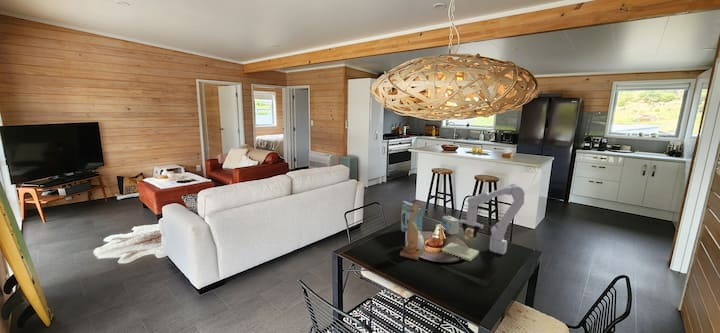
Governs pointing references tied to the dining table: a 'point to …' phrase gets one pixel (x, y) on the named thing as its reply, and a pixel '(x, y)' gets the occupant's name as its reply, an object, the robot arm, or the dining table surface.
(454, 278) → the dining table surface
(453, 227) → the light bulb box
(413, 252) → the bird sculpture
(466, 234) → the maple block
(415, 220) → the gum box
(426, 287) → the dining table surface
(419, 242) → the figurine
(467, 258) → the green tile
